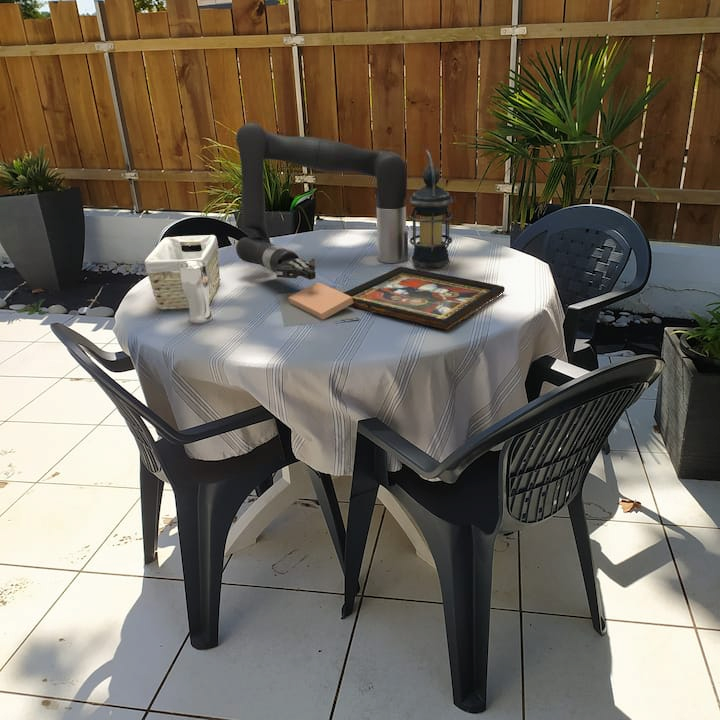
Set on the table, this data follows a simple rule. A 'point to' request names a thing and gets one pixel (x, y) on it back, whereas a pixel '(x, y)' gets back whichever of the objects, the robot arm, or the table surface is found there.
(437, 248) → the lantern
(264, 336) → the table surface
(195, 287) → the beer glass
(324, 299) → the tile
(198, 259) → the storage basket
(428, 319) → the religious icon
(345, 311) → the mat
